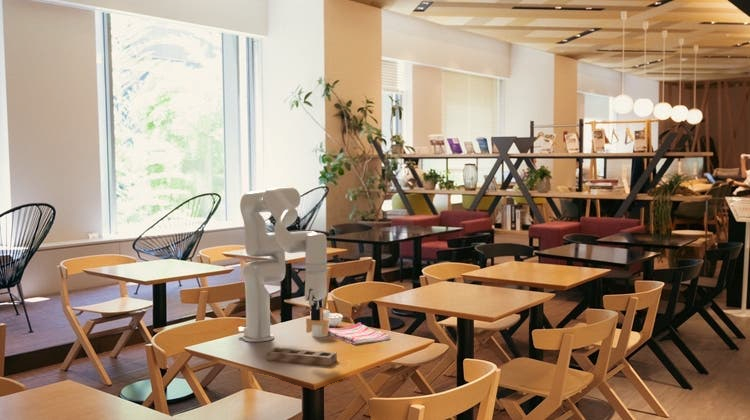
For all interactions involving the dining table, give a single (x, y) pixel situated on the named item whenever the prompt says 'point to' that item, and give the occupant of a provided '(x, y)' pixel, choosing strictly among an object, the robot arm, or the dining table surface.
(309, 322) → the clip
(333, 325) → the white bowl
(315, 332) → the white cup
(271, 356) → the wooden compartment tray
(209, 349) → the dining table surface
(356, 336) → the dish towel
